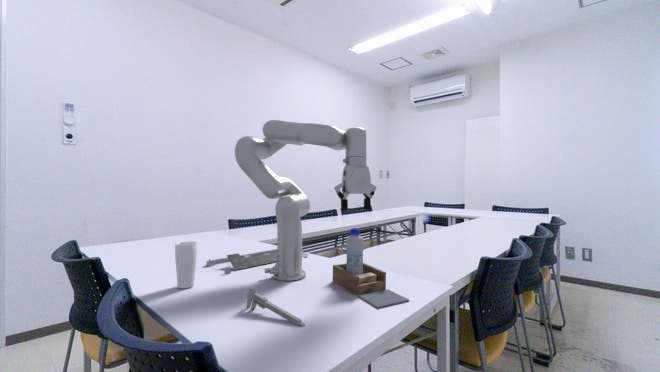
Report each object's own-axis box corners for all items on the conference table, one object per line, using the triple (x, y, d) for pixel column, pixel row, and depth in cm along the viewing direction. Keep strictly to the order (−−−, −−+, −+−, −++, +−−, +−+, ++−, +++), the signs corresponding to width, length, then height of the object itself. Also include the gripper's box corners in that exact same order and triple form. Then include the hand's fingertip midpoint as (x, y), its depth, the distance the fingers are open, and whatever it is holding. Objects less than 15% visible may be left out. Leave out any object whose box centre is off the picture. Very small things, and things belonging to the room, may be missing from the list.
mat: (377, 308, 85) (377, 306, 85) (358, 296, 94) (358, 295, 94) (409, 301, 91) (409, 299, 91) (388, 290, 100) (388, 289, 100)
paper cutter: (206, 266, 129) (206, 253, 129) (290, 251, 160) (290, 240, 160) (224, 275, 116) (224, 261, 116) (311, 257, 147) (311, 246, 147)
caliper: (246, 309, 85) (246, 287, 85) (249, 307, 86) (249, 286, 86) (302, 327, 74) (303, 303, 74) (305, 326, 75) (305, 301, 75)
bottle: (362, 287, 103) (363, 229, 103) (343, 285, 105) (344, 229, 105) (364, 281, 110) (365, 227, 110) (346, 279, 111) (347, 226, 111)
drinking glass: (200, 284, 105) (201, 242, 104) (185, 291, 98) (186, 245, 98) (185, 282, 107) (186, 240, 107) (170, 288, 100) (170, 244, 100)
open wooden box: (356, 295, 95) (356, 277, 95) (332, 281, 109) (332, 265, 109) (385, 289, 101) (385, 272, 101) (359, 276, 115) (359, 261, 115)
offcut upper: (358, 286, 98) (359, 278, 98) (353, 283, 101) (353, 275, 101) (376, 282, 102) (376, 274, 102) (370, 279, 105) (370, 272, 105)
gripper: (340, 160, 100) (340, 211, 100) (381, 162, 108) (381, 209, 108) (329, 162, 106) (330, 210, 106) (369, 164, 114) (369, 208, 114)
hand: (356, 210), depth 107 cm, fingers open, 9 cm apart
